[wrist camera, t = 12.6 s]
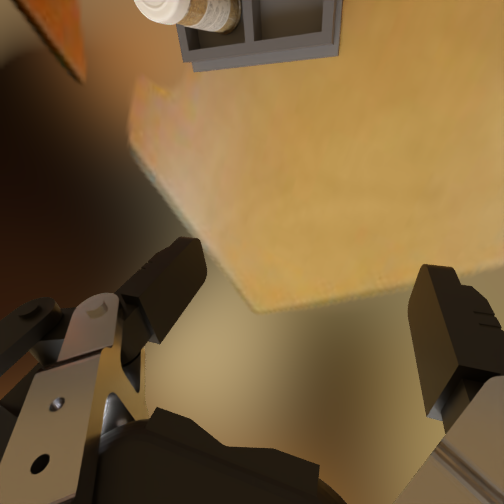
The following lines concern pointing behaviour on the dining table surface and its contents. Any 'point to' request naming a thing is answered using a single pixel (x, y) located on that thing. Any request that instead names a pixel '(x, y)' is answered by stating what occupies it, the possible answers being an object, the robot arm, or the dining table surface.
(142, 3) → the sprinkles bottle
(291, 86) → the dining table surface
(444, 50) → the dining table surface
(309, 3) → the caddy
